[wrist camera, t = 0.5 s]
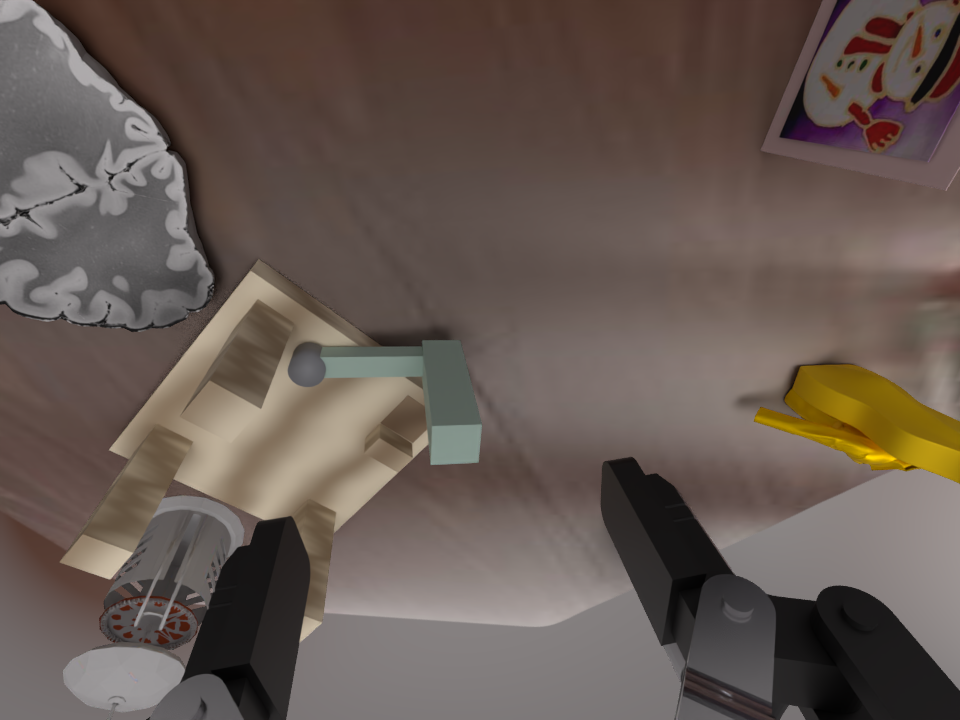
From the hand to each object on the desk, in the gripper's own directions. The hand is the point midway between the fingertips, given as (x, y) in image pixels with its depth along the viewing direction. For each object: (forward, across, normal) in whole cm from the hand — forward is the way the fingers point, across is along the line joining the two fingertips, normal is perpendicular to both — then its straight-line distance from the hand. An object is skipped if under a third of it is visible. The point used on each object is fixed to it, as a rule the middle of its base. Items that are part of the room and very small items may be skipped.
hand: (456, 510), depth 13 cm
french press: (+28, -26, -26) cm, 46 cm away
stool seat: (+28, -13, -15) cm, 35 cm away
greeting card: (+29, +31, +7) cm, 43 cm away
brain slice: (+29, -22, +5) cm, 37 cm away
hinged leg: (+26, -5, -9) cm, 27 cm away
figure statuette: (+29, +38, -21) cm, 52 cm away
